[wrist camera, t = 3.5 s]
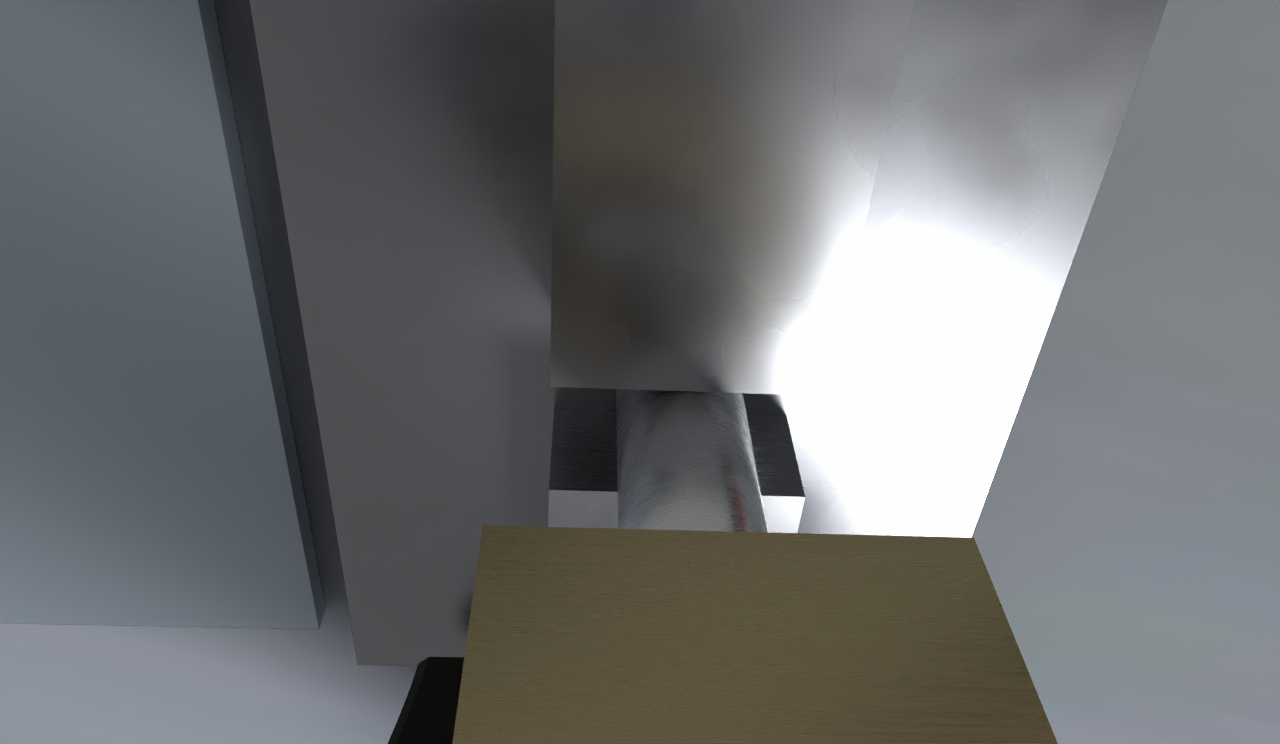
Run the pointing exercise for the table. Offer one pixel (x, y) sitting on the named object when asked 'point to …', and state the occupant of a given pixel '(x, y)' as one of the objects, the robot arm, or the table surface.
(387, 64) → the vise
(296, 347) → the table surface
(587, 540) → the collar
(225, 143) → the mat
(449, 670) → the robot arm
